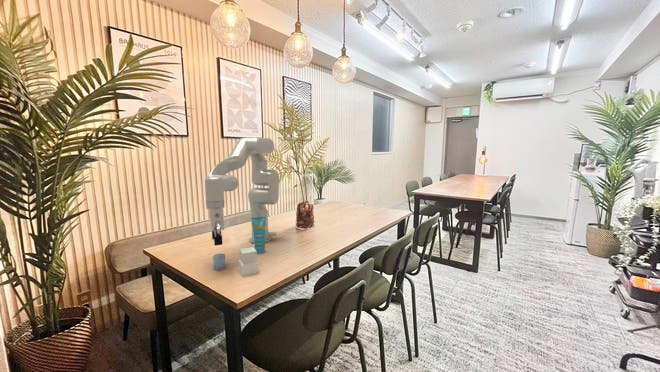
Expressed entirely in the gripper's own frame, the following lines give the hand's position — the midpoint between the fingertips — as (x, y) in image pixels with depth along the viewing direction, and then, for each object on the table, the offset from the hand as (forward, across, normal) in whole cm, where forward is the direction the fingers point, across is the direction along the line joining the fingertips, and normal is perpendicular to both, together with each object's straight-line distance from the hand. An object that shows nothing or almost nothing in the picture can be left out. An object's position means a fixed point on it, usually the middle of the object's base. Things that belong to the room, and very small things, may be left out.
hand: (217, 241), depth 122 cm
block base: (+13, -9, -12) cm, 20 cm away
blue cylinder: (+13, +1, -1) cm, 13 cm away
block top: (+8, -10, -12) cm, 17 cm away
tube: (+12, +11, -22) cm, 27 cm away
